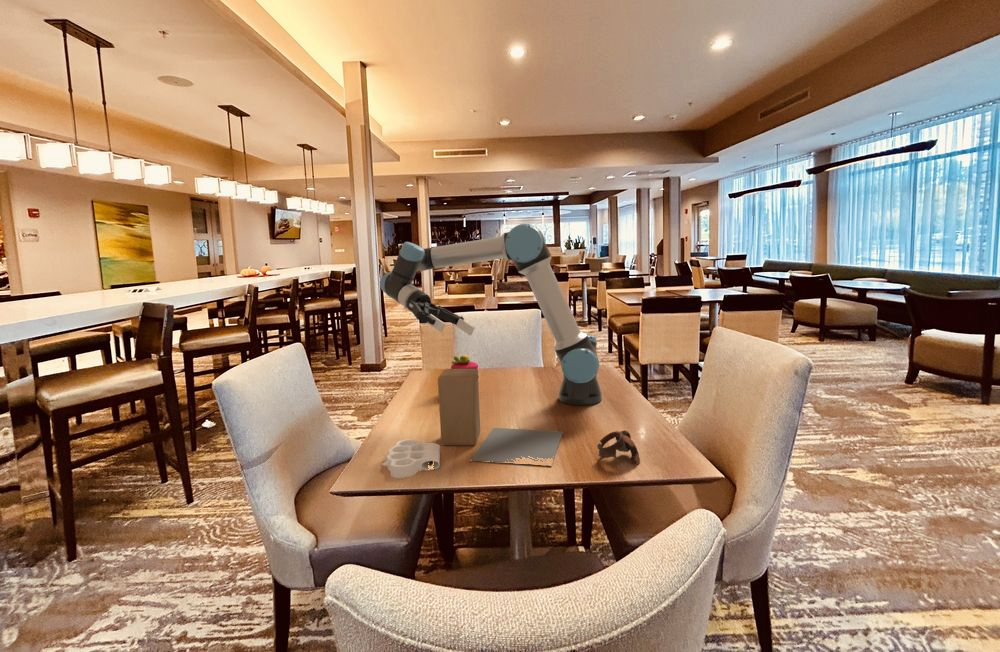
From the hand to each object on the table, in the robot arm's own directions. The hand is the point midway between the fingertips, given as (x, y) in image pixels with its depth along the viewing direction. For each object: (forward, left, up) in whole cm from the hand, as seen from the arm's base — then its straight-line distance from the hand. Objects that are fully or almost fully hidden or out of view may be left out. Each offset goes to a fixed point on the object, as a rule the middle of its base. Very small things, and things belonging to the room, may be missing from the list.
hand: (458, 329), depth 153 cm
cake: (+11, -36, -30) cm, 49 cm away
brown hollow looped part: (-48, +18, -30) cm, 60 cm away
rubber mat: (-21, +14, -30) cm, 39 cm away
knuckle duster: (+5, +29, -31) cm, 42 cm away
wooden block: (-3, +12, -30) cm, 33 cm away
